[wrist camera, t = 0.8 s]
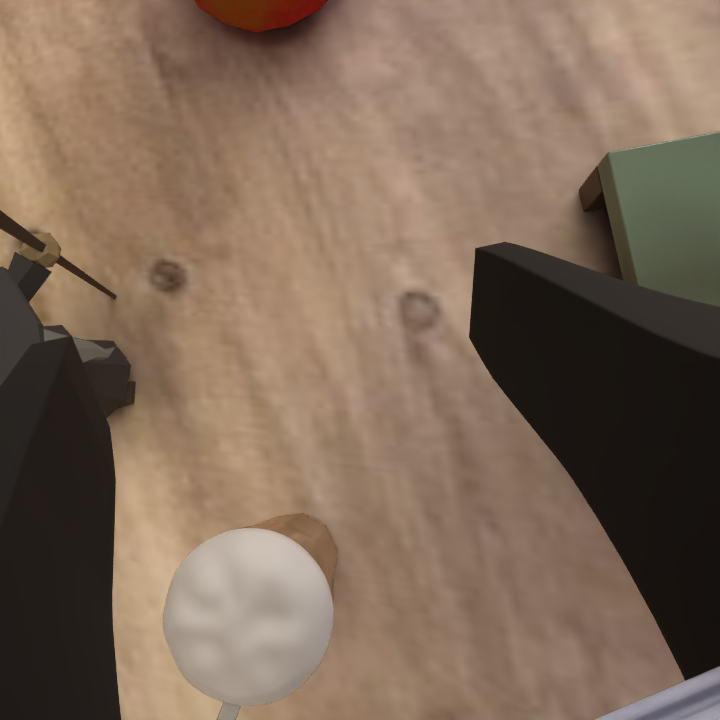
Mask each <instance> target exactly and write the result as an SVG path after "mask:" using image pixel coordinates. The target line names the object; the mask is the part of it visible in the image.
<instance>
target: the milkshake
mask: <svg viewBox="0 0 720 720" xmlns="http://www.w3.org/2000/svg"><path fill="white" fill-rule="evenodd" d="M336 557H337V548H336V546H335V543H334V541H333V539H332V537H331V535H330V533H329V531H328V529H327V526H326V525H324V524H322V523H321V522H319V521H317V520H315V519H313V518H311V517H310V516H308V515H306V514H304V513H301V514H294V515H287V516H279V517H276V518H273V519H270V520H267V521H264V522H261V523H258V524H256V525H252V526H247V527H243V528H239V529H234V530H230V531H227V532H224V533H221V534H219V535H216V536H214V537H212V538H210V539H208V540H207V541H205V542H203V543H202V544H200V545H199V546H198V547H196V548H195V549H194V550H193V551H192V552H190V553H189V554H188V555H187V557H186V558H185V559H184V560H183V561H182V563H181V564H180V565H179V567H178V569H177V570H176V572H175V574H174V576H173V578H172V581H171V584H170V587H169V590H168V594H167V598H166V603H165V608H164V614H163V631H164V635H165V639H166V641H167V644H168V646H169V649H170V651H171V653H172V655H173V657H174V660H175V662H176V664H177V666H178V668H179V670H180V671H181V673H182V675H183V676H184V677H185V679H186V680H187V681H188V682H189V683H190V684H191V685H192V686H194V687H195V688H196V689H198V690H199V691H201V692H202V693H204V694H206V695H208V696H210V697H212V698H215V699H217V700H220V701H223V705H222V707H221V710H220V712H219V715H218V717H217V720H236V718H237V715H238V712H239V710H240V707H241V705H263V704H269V703H272V702H275V701H278V700H280V699H282V698H284V697H286V696H287V695H289V694H291V693H292V692H294V691H295V690H296V689H298V688H299V687H300V686H301V685H302V684H303V683H305V682H306V681H307V680H308V679H309V677H310V676H311V675H312V674H313V673H314V672H315V670H316V669H317V667H318V666H319V664H320V663H321V661H322V659H323V657H324V655H325V652H326V650H327V647H328V644H329V641H330V637H331V632H332V627H333V586H334V572H335V564H336Z"/></svg>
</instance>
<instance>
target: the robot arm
mask: <svg viewBox="0 0 720 720" xmlns="http://www.w3.org/2000/svg"><path fill="white" fill-rule="evenodd" d="M469 338H470V340H471V342H472V343H473V345H474V347H475V349H476V351H477V352H478V354H479V356H480V358H481V360H482V361H483V363H484V365H485V366H486V368H487V369H488V371H489V373H490V374H491V376H492V378H493V379H494V380H495V381H496V383H497V384H498V385H499V387H500V388H501V389H502V390H503V392H504V393H505V394H506V395H507V397H508V398H509V399H510V401H511V402H512V403H513V404H514V406H515V407H516V408H517V409H518V411H519V412H520V413H521V414H522V415H523V417H524V418H525V419H526V420H527V422H528V423H529V424H530V425H531V426H532V428H533V429H534V430H535V431H536V433H537V434H538V435H539V436H540V438H541V439H542V440H543V441H544V443H545V444H546V445H547V446H548V447H549V449H550V450H551V451H552V452H553V454H554V455H555V456H556V457H557V459H558V460H559V461H560V463H561V464H562V465H563V467H564V468H565V469H566V471H567V472H568V473H569V475H570V476H571V478H572V479H573V481H574V482H575V484H576V485H577V487H578V488H579V490H580V492H581V493H582V495H583V496H584V498H585V499H586V501H587V503H588V504H589V506H590V507H591V509H592V510H593V512H594V513H595V515H596V517H597V518H598V520H599V521H600V523H601V525H602V527H603V528H604V530H605V532H606V533H607V535H608V537H609V538H610V540H611V542H612V543H613V545H614V547H615V548H616V550H617V552H618V553H619V555H620V557H621V558H622V560H623V562H624V564H625V565H626V567H627V569H628V571H629V573H630V574H631V576H632V578H633V580H634V582H635V584H636V585H637V587H638V589H639V591H640V593H641V595H642V596H643V598H644V600H645V602H646V604H647V605H648V607H649V609H650V611H651V613H652V615H653V616H654V618H655V620H656V622H657V624H658V626H659V628H660V630H661V632H662V634H663V636H664V638H665V640H666V642H667V644H668V646H669V648H670V650H671V652H672V654H673V656H674V658H675V660H676V662H677V664H678V666H679V668H680V670H681V672H682V674H683V677H684V679H685V681H684V682H681V683H679V684H677V685H674V686H672V687H670V688H667V689H665V690H663V691H660V692H658V693H656V694H653V695H651V696H648V697H646V698H644V699H641V700H639V701H637V702H634V703H632V704H630V705H627V706H625V707H623V708H620V709H618V710H616V711H613V712H611V713H609V714H606V715H604V716H602V717H599V718H597V719H595V720H720V307H719V306H715V305H710V304H706V303H701V302H697V301H692V300H688V299H684V298H681V297H677V296H673V295H669V294H666V293H662V292H659V291H656V290H652V289H649V288H645V287H642V286H639V285H635V284H632V283H629V282H626V281H623V280H620V279H617V278H614V277H611V276H608V275H605V274H602V273H599V272H596V271H593V270H590V269H587V268H584V267H582V266H579V265H576V264H573V263H570V262H567V261H565V260H562V259H559V258H556V257H553V256H550V255H548V254H545V253H542V252H539V251H536V250H533V249H529V248H526V247H523V246H519V245H516V244H511V243H507V242H503V243H498V244H493V245H489V246H484V247H480V248H476V250H475V264H474V278H473V291H472V305H471V319H470V333H469ZM115 484H116V478H115V468H114V458H113V450H112V441H111V433H110V427H109V424H108V422H107V420H106V417H105V415H104V412H103V410H102V408H101V405H100V403H99V400H98V398H97V395H96V393H95V391H94V388H93V386H92V383H91V381H90V379H89V376H88V374H87V371H86V369H85V367H84V364H83V362H82V359H81V357H80V354H79V352H78V350H77V347H76V345H75V342H74V340H73V338H72V336H67V337H62V338H58V339H53V340H48V341H44V342H39V343H35V344H31V346H30V347H29V348H28V349H27V350H26V352H25V353H24V354H23V356H22V357H21V359H20V360H19V361H18V363H17V364H16V365H15V367H14V368H13V370H12V371H11V372H10V374H9V375H8V377H7V378H6V379H5V381H4V382H3V383H2V385H1V386H0V720H121V715H120V705H119V694H118V684H117V672H116V660H115V648H114V635H113V618H112V586H113V555H114V525H115Z"/></svg>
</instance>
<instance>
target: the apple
mask: <svg viewBox="0 0 720 720" xmlns="http://www.w3.org/2000/svg"><path fill="white" fill-rule="evenodd" d="M326 1H327V0H195V2H196V4H197V6H198V7H199V8H201V9H202V10H204V11H206V12H207V13H209V14H210V15H212V16H213V17H215V18H217V19H218V20H220V21H221V22H223V23H224V24H228V25H232V26H235V27H239V28H243V29H246V30H250V31H254V32H260V31H265V30H270V29H275V28H280V27H287V26H290V25H291V24H293V23H295V22H297V21H299V20H301V19H303V18H304V17H306V16H308V15H310V14H312V13H314V12H315V11H317V10H319V9H320V8H321V7H322V6H323V5H324V4H325V2H326Z"/></svg>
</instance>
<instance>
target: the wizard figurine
mask: <svg viewBox="0 0 720 720" xmlns="http://www.w3.org/2000/svg"><path fill="white" fill-rule="evenodd" d="M0 229H2V230H3V231H5V232H7V233H8V234H10V235H12V236H13V237H15V238H17V239H18V240H20V241H22V242H23V244H22V247H21V250H20V253H21V255H20V254H18V253H16V252H15V253H14V256H13V259H12V261H11V264H10V267H9V269H8V270H7V269H6V268H4V267H0V386H1V385H2V383H3V382H4V381H5V379H6V378H7V377H8V375H9V374H10V372H11V371H12V370H13V368H14V367H15V365H16V364H17V363H18V361H19V360H20V359H21V357H22V356H23V354H24V353H25V352H26V350H27V349H28V348H29V347H30V346H31V344H35V343H39V342H44V341H48V340H53V339H58V338H62V337H67V336H71V335H70V334H69V332H68V331H67V330H66V329H65V328H64V327H63V326H62V325H56V326H44V327H43V324H42V323H41V321H40V320H39V318H38V317H37V315H36V313H35V312H34V310H33V309H32V307H31V306H30V304H29V301H30V300H31V299H32V297H33V296H34V295H35V293H36V292H37V291H38V289H39V288H40V287H41V285H42V284H43V283H44V281H45V280H46V279H47V278H48V276H49V275H50V274H51V271H49V270H48V269H46V267H53V265H54V264H55V263H57V264H59V265H61V266H62V267H64V268H65V269H67V270H69V271H70V272H72V273H73V274H75V275H77V276H78V277H80V278H81V279H83V280H84V281H86V282H88V283H89V284H91V285H92V286H94V287H96V288H97V289H99V290H100V291H102V292H104V293H105V294H107V295H108V296H110V297H112V298H114V299H115V298H116V295H115V294H113V293H112V292H110V291H109V290H108V289H106V288H105V287H103V286H102V285H101V284H99V283H98V282H97V281H95V280H94V279H92V278H91V277H90V276H88V275H87V274H85V273H84V272H83V271H81V270H80V269H79V268H77V267H76V266H74V265H73V264H72V263H70V262H69V261H67V260H66V259H65V258H63V257H62V256H61V255H60V252H61V248H60V246H59V244H58V243H57V241H56V240H55V239H54V238H53V236H52V235H51V234H50V233H40V234H31V233H30V232H28V231H27V230H26V229H24V228H23V227H22V226H20V225H19V224H18V223H16V222H15V221H14V220H12V219H11V218H10V217H8V216H7V215H6V214H4V213H3V212H2V211H0ZM72 338H73V340H74V342H75V345H76V347H77V350H78V352H79V354H80V357H81V359H82V362H83V364H84V367H85V369H86V371H87V374H88V376H89V379H90V381H91V383H92V386H93V388H94V391H95V393H96V395H97V398H98V400H99V403H100V405H101V408H102V410H103V412H104V415H105V417H106V418H107V417H108V416H109V415H110V414H111V413H112V412H113V411H114V410H115V409H116V408H120V407H123V406H126V405H129V404H132V403H134V394H135V382H133V381H131V382H128V378H129V372H130V367H131V365H130V364H129V362H128V361H127V360H126V359H127V358H126V357H125V355H124V354H123V353H122V352H121V351H120V350H119V348H118V347H117V346H116V344H115V343H114V341H98V340H82V339H78V338H74V337H72Z"/></svg>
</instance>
